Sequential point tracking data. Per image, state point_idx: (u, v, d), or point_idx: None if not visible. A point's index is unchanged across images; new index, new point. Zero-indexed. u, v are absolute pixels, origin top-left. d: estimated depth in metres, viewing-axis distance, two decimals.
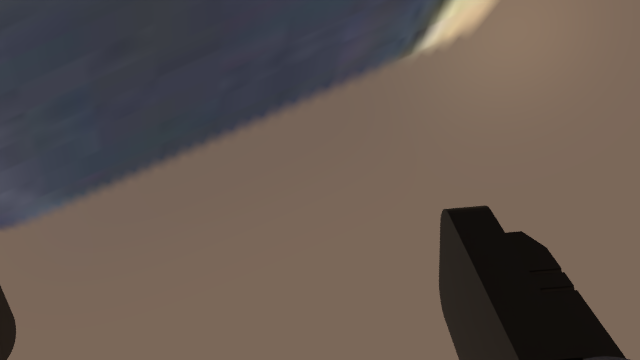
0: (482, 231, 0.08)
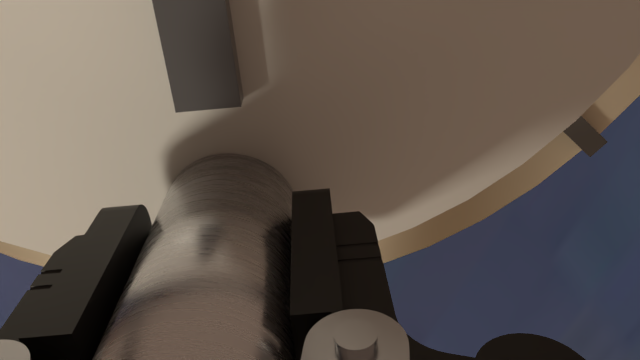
0: (313, 210, 0.09)
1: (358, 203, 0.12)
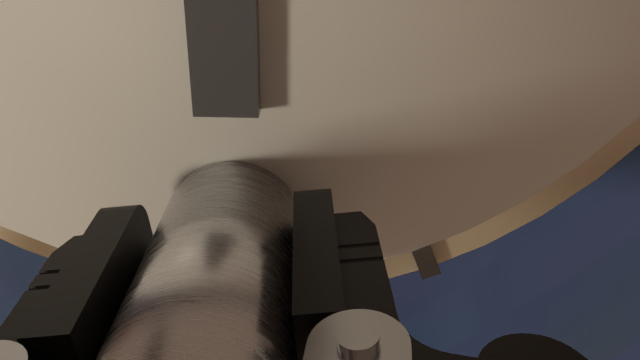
0: (315, 210, 0.09)
1: None
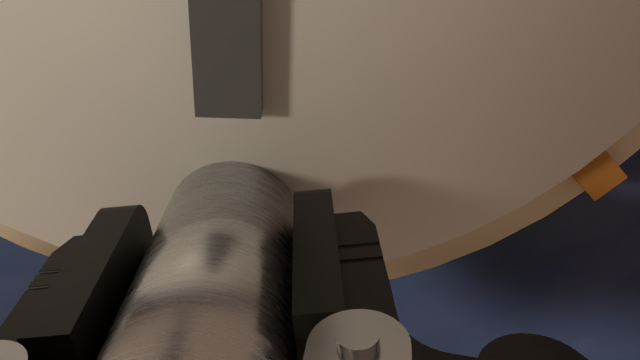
0: (315, 210, 0.09)
1: None
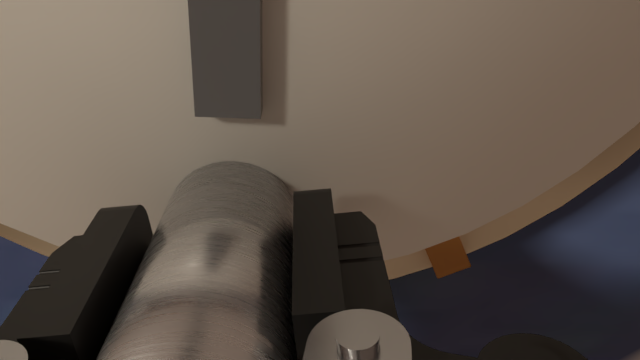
0: (315, 210, 0.09)
1: None
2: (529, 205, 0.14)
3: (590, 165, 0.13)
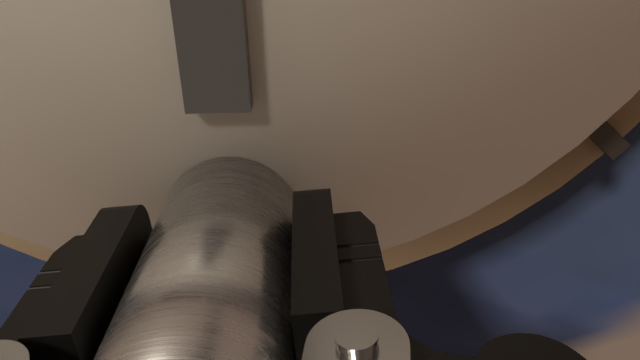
0: (314, 209, 0.09)
1: None
2: None
3: (426, 240, 0.14)
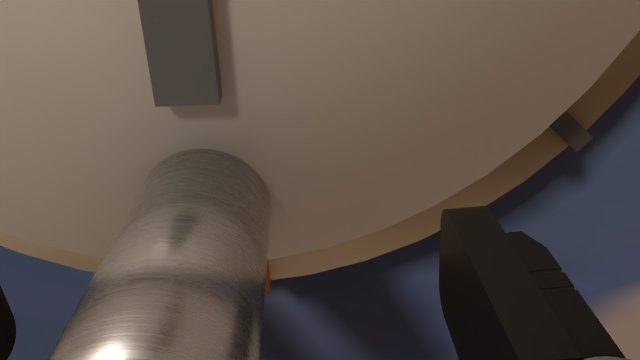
0: (482, 231, 0.08)
1: (329, 203, 0.12)
2: (337, 251, 0.15)
3: (398, 231, 0.15)
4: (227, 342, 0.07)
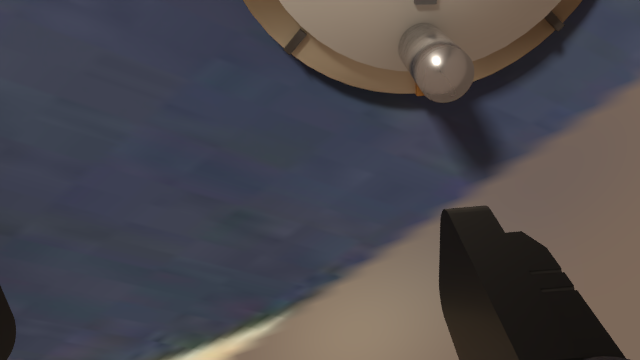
0: (482, 231, 0.08)
1: (466, 45, 0.33)
2: None
3: (484, 69, 0.35)
4: None
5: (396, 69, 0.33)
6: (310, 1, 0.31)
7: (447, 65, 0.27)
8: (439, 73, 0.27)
